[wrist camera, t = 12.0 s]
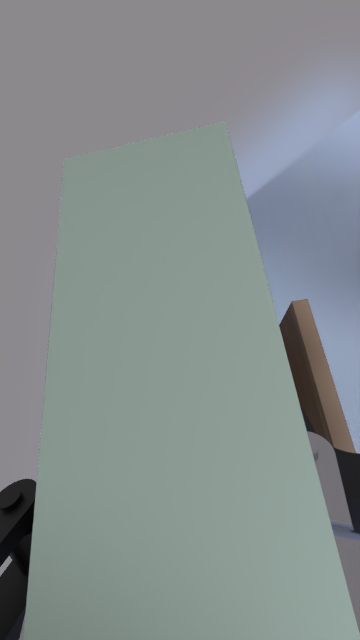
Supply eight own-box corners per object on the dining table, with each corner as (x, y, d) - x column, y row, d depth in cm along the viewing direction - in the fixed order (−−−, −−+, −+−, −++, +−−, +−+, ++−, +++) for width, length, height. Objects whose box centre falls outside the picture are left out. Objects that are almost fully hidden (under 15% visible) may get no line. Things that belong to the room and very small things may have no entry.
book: (225, 327, 20) (223, 113, 6) (251, 473, 17) (378, 707, 3) (172, 335, 21) (64, 150, 7) (186, 479, 17) (17, 709, 3)
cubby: (275, 348, 29) (307, 298, 18) (300, 449, 26) (361, 469, 14) (142, 367, 31) (92, 333, 20) (147, 465, 27) (89, 494, 16)
